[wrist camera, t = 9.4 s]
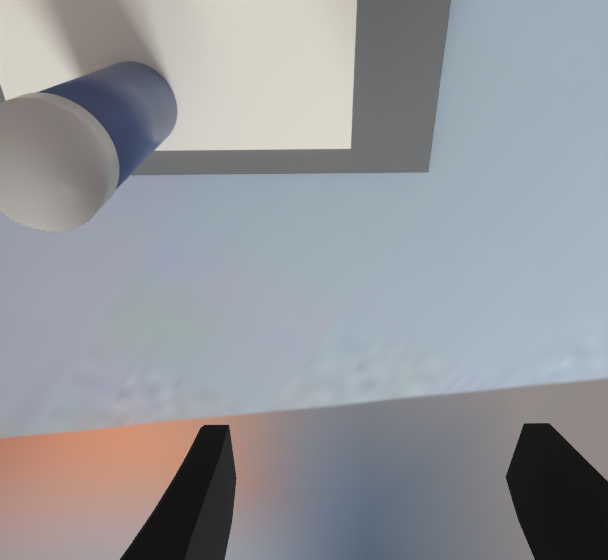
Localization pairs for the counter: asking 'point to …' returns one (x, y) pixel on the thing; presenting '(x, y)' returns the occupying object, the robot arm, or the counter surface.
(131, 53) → the paper
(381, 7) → the desk mat
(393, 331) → the counter surface
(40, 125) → the marker
